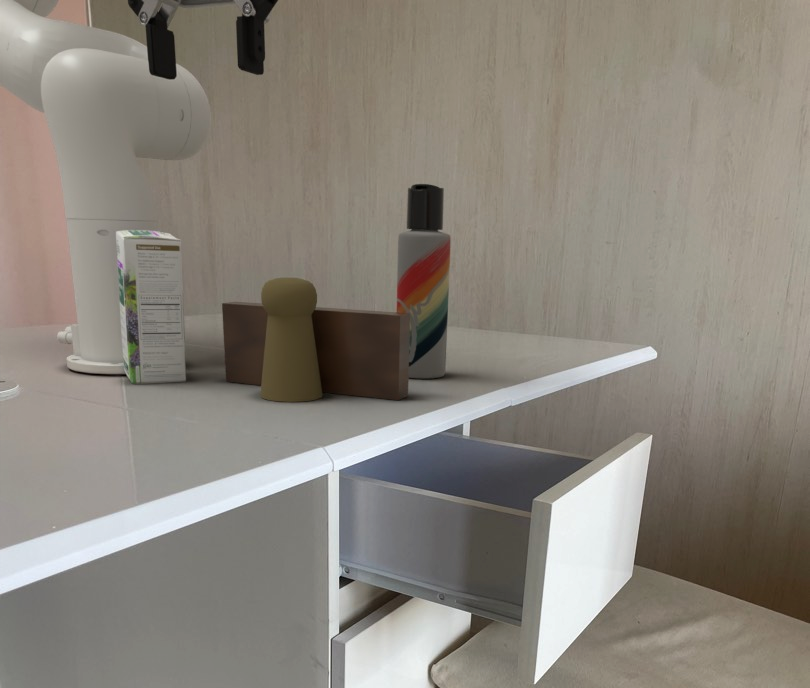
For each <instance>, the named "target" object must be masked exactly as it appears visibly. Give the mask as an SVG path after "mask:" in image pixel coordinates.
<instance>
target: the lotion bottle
mask: <svg viewBox="0 0 810 688" xmlns="http://www.w3.org/2000/svg"><path fill="white" fill-rule="evenodd" d="M444 197H445V189H444V187H439V186H438V185H434V184H430V183H429V184H428V183H416V184H412V185H411V187H407V203H406V204H407V205H406V229H407V230H408V231H403V232H400V233H399V234H398V236H397V237H398V238H397V272H396V275H397V276H396V312H398V313H410V338H409V377H408V379H424V380H425V379H426V380H428V379H437V378H438V379H439V378H443V377H444V376H445V374H446V364H447V345H448V344H447V342H448V339H447V338H448V322H449V321H448V319H449V318H448V317H449V316H448V314H449V294H450V271H451V269H450V268H451V266H450V265H451V244H452V243H451V241H452V240H451V235H450V234H448V233H446V232H444V231H443V230H444V203H445V202H444V201H445V198H444ZM442 231H443V232H442Z"/></svg>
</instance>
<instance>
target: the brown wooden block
mask: <svg viewBox="0 0 810 688" xmlns="http://www.w3.org/2000/svg"><path fill="white" fill-rule="evenodd" d="M221 307H222V308H221V310H222V311H221V312H222V329H223V331H222V332H223V350H224V369H225V370H224V371H225V382H227V383H237V384H245V385H255V386H261V383H262V372H263V362H264V351H265V340H266V330H267V319H268V314H267V312H266V311H265V309H264V308H263V305H262V302H261V303H260V302H248V301H247V302H245V301H244V302H243V301H231V302H228V301H227V302H222V303H221ZM311 316H312V323H313V331H314V338H315V345H316V352H317V359H318V366H319V373H320V380H321V388H322V393H327V394H338V395H344V396H345V395H346V396H353V397H354V396H355V397H363V398H373V399H381V400H390V401H391V400H392V401H400V400H403V399H405V398H408V397H409V378H408V377H409V338H410V313H398V312H397V311H396V312H395V311H380V310H368V309H367V310H365V309H351V308H338V307H337V308H335V307H321V306H316V308H315V310H314V311H313V313H312V314H311Z"/></svg>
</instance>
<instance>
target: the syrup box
mask: <svg viewBox="0 0 810 688" xmlns="http://www.w3.org/2000/svg"><path fill="white" fill-rule="evenodd" d="M116 244H117V260H118V281H119V300H120V318H121V334H122V348H123V361H124V370H125V373H126V374H125V375H126V377H127V378H128V380H129V381H130V383H131V384H132V385H142V384H145V385H146V384H162V383H163V384H164V383H177V382H179V383H180V382H186V381H187V367H186V366H187V364H186V362H187V361H186V335H185V333H186V332H185V308H184V307H185V303H184V271H183V270H184V269H183V250H182V249H183V247H182V245H183V244H182V239H181V238H177V237H176V236H174V235H172V233H169V232H163V231H160V232H157V231H149V230H124V231H116Z"/></svg>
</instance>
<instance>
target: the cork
mask: <svg viewBox="0 0 810 688" xmlns="http://www.w3.org/2000/svg"><path fill="white" fill-rule="evenodd" d="M260 292H261V293H260V300H261V303H262V305H263V308H264V309H265V311H266V312H267V314H268V319H267V330H266V340H265V351H264V362H263V372H262V383H261V385H260V393H259V396H260V398H262V399H264V400H268V401H272V402H273V401H274V402H285V403H299V402H300V403H301V402H310V401H315V400H320V399H321V398H323V396H324V395H323V392H322V388H321V380H320V373H319V366H318V359H317V352H316V345H315V338H314V331H313V323H312V316H311V314H312V313H313V311H314V310H315V308H316V307H317V303H318V292H317V289H316V287H315V285H314V283H312V282H311V281H310V280H306V279H303V278H299V277H276V278H272V279H269V280H267V281H266V282H265V283H264V284H263V286H262V288H261V291H260Z"/></svg>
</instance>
